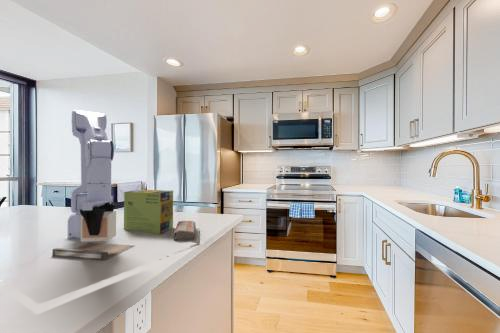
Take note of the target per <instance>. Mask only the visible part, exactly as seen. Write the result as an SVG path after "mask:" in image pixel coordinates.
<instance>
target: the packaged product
mask: <svg viewBox="0 0 500 333" xmlns="http://www.w3.org/2000/svg"><path fill="white" fill-rule="evenodd" d="M199 235H200V228H196V222H195V221H194V220H180V221H178V222H177V224H176V227H175V228H172V231H171V233H170V235H169V238H172V239H173V241H185V242H190V243H193V244H196V245H199V240H200V237H199Z"/></svg>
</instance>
